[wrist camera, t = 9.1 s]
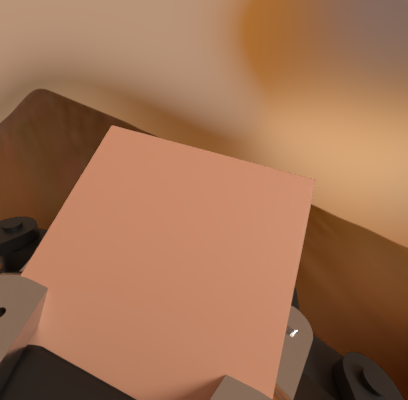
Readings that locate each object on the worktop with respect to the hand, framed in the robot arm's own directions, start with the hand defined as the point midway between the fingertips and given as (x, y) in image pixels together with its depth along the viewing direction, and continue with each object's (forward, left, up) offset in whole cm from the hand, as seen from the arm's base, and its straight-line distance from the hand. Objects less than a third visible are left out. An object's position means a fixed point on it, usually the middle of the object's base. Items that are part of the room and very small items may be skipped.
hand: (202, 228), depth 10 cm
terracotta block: (0, +2, -4) cm, 5 cm away
